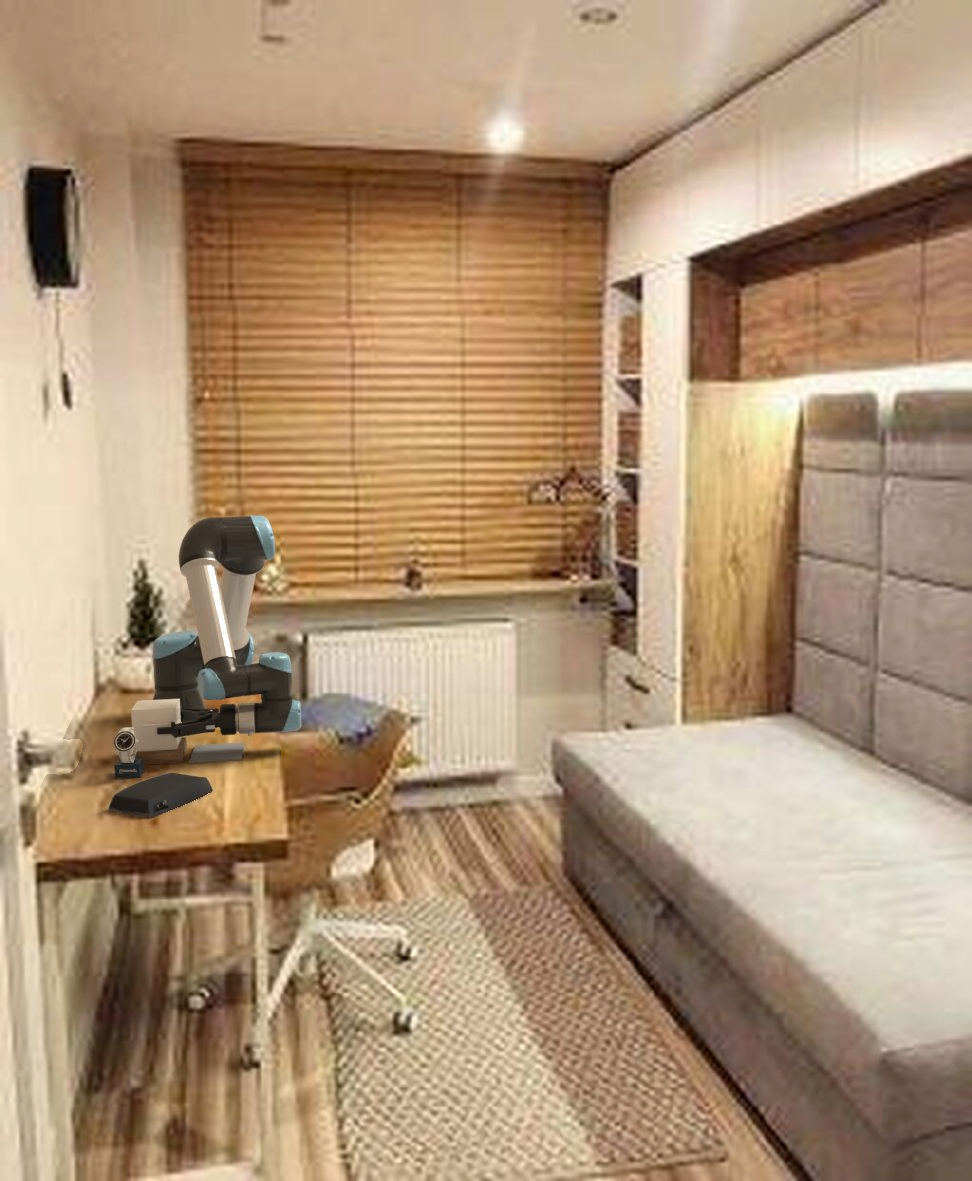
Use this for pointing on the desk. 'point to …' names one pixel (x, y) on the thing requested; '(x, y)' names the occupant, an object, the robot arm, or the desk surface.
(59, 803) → the desk surface
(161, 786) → the external hard drive
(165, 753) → the brown stepped block
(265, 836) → the desk surface
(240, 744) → the mat
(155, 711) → the off-white rounded cube
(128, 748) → the watch
